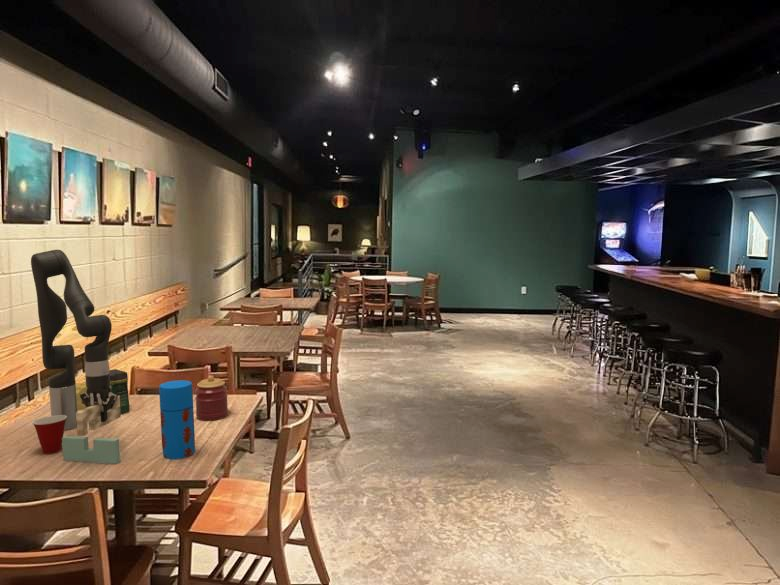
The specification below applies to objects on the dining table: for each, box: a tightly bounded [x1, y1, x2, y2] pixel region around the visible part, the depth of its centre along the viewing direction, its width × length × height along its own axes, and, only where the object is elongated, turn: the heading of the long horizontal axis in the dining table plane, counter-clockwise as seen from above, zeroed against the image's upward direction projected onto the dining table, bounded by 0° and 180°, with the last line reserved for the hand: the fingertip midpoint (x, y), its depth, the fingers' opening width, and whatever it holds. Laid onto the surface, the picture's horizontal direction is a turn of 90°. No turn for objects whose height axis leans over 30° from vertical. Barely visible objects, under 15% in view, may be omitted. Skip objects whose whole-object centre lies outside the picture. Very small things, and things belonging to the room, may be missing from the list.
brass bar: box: [76, 396, 122, 437], centre depth 198 cm, size 20×2×8 cm, turn 171°
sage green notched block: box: [62, 435, 121, 465], centre depth 194 cm, size 20×2×8 cm, turn 81°
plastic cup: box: [31, 415, 67, 455], centre depth 203 cm, size 11×11×12 cm
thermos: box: [158, 379, 196, 460], centre depth 199 cm, size 11×11×25 cm
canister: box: [194, 374, 229, 422], centre depth 240 cm, size 13×13×18 cm
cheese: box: [76, 381, 91, 411], centre depth 256 cm, size 10×11×10 cm
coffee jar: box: [108, 368, 130, 415], centre depth 246 cm, size 10×8×19 cm
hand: (100, 421), depth 199 cm, fingers closed on brass bar, 2 cm apart
